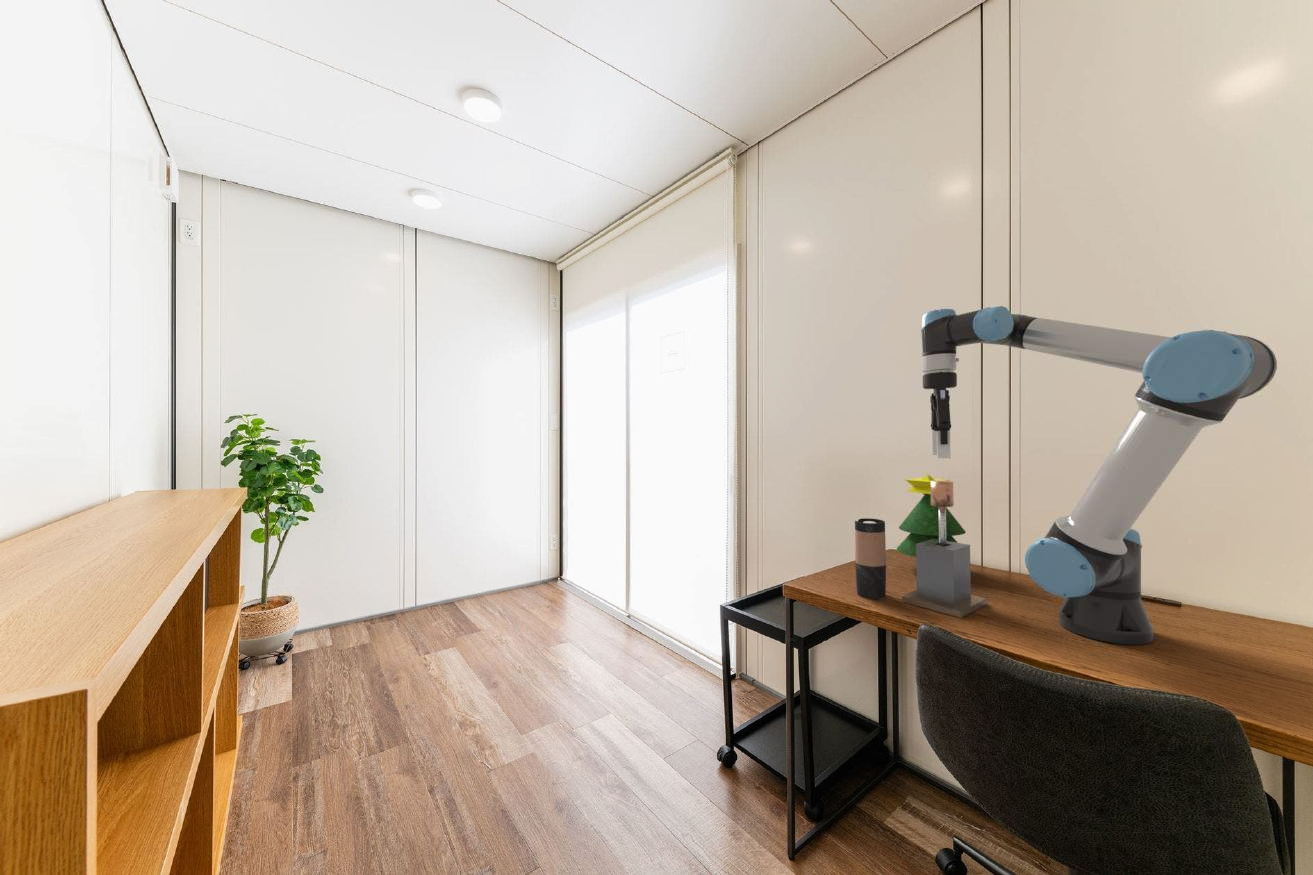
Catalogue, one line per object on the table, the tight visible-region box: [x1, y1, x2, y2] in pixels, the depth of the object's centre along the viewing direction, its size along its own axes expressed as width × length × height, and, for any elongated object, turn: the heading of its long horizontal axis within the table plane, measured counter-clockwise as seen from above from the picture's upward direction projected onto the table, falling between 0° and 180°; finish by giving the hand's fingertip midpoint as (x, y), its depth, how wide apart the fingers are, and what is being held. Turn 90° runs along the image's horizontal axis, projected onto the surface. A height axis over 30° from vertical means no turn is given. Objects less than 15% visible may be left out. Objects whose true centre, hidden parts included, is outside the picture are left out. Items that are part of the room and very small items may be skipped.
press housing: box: [901, 539, 987, 619], centre depth 125 cm, size 14×14×15 cm
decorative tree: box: [896, 474, 967, 558], centre depth 152 cm, size 19×19×30 cm
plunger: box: [931, 480, 955, 546], centre depth 125 cm, size 5×5×21 cm
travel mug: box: [854, 517, 887, 600], centre depth 133 cm, size 8×8×20 cm
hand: (940, 456), depth 125 cm, fingers open, 13 cm apart
